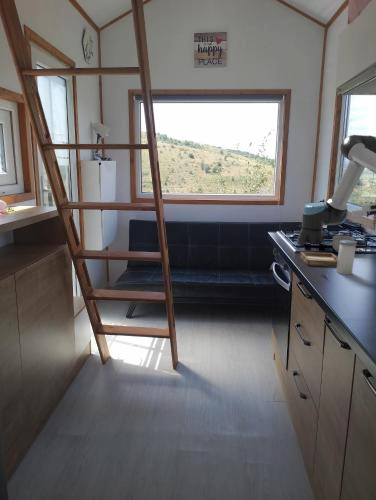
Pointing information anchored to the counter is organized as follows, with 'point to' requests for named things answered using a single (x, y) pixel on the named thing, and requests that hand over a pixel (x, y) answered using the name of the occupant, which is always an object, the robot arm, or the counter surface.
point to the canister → (346, 257)
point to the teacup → (337, 241)
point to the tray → (319, 259)
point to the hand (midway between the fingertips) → (357, 211)
